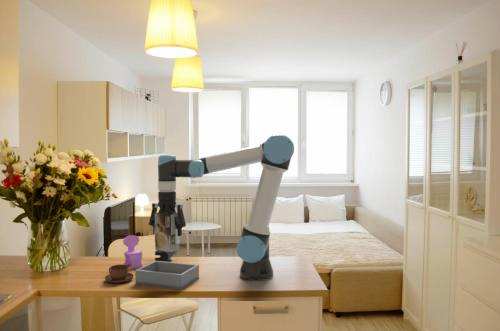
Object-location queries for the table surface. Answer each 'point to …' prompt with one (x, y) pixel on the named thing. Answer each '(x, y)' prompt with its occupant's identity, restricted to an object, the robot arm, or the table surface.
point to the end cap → (163, 255)
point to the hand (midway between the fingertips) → (167, 242)
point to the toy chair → (132, 252)
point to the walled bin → (167, 274)
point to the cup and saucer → (118, 274)
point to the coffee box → (165, 232)
